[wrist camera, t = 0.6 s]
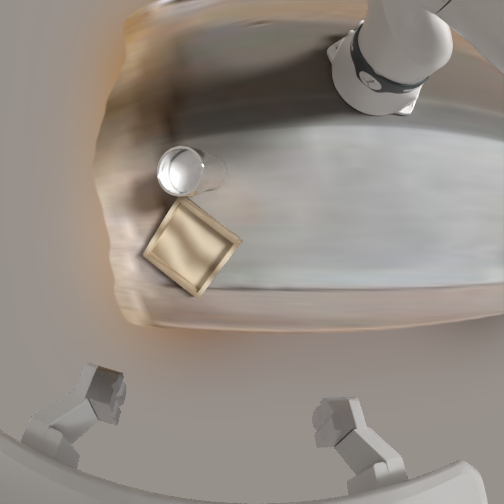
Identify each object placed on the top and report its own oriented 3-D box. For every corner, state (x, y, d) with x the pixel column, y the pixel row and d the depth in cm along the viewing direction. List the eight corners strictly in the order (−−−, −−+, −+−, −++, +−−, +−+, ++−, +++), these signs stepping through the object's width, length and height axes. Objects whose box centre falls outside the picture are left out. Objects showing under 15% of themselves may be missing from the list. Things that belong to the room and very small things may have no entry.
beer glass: (185, 166, 49) (146, 162, 34) (218, 146, 47) (189, 134, 33) (203, 199, 50) (169, 207, 35) (236, 180, 48) (215, 180, 34)
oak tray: (183, 195, 50) (178, 196, 48) (242, 240, 51) (240, 243, 48) (148, 251, 54) (142, 255, 51) (202, 293, 54) (198, 299, 52)
